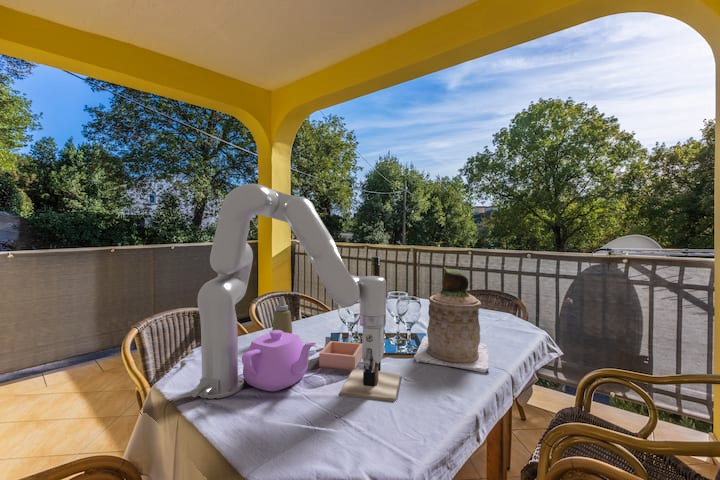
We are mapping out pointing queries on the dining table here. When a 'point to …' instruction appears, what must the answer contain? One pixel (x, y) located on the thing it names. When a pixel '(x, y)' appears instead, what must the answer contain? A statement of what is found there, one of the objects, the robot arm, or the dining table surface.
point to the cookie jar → (454, 327)
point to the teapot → (275, 361)
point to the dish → (341, 355)
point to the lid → (382, 390)
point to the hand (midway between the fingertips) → (372, 377)
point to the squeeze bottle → (282, 317)
